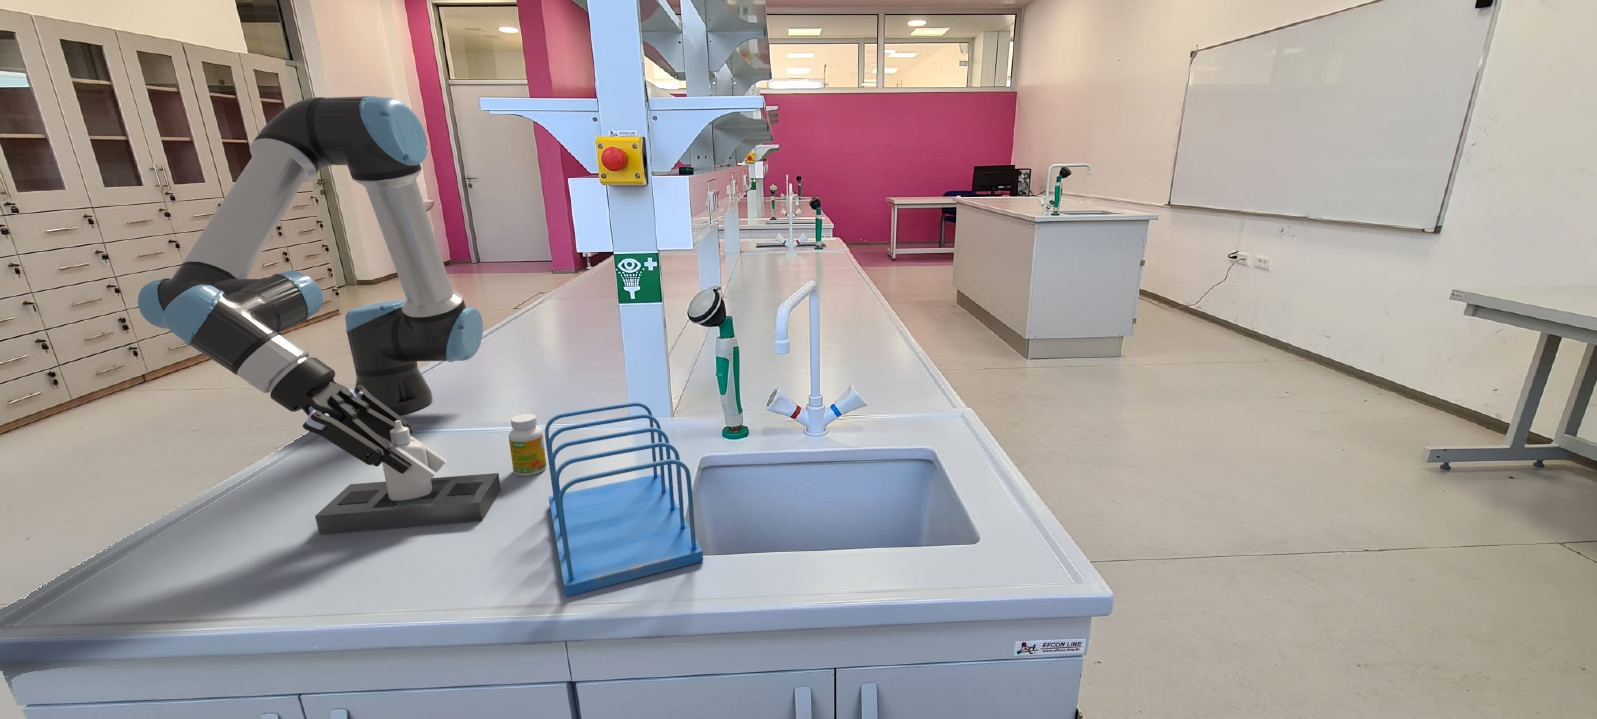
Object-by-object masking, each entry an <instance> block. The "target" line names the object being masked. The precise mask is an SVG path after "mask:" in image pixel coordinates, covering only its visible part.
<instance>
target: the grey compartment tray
mask: <svg viewBox="0 0 1597 719" xmlns="http://www.w3.org/2000/svg"><path fill="white" fill-rule="evenodd" d="M431 483H432V490H431V493H430V494H428V495H425V496H422V497H419V498H415V499H410V500H409V501H411V500H424V499H433V500H432V502H431V503H422V504H410V505H398V506H397V504H398V503H399V501H392V500H390V499H389V495H388V490H387V485H386V481H375V482H373V481H372V482H361V483H360V482H359V483H350V484H348V485H347V486H346V488H344V489H343V490H342V491H341V492H340V493H338V495H336V496H335V498H333V499H332V500H331V501H329V503H328V504H326V506H324V508H321V510H320V511H319V512H318V513H317V514H315V516H314V517H315V521H316V526H317V530H318V534H319V536H321V535H331V534H332V535H333V534H344V533H353V532H354V533H355V532H369V531H380V530H391V529H401V528H412V527H413V528H414V527H426V526H436V525H437V526H438V525H439V526H440V525H447V524H451V525H452V524H461V523H474V522H482V521H484V519H485V517H486V515H487V514H488V513H489V510H490V509H491V507H492V506H493V504H494V502H495V500H497V499H496V498H497V497H498V496H499V494H500V493H501V491H502V487H501V480H500V475H499V472H498V473H497V472H496V473H483V474H482V473H481V474H480V473H479V474H470V475H469V474H468V475H458V476H457V475H455V476H443V477H442V476H441V477H433V478H432V479H431Z"/></svg>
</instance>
